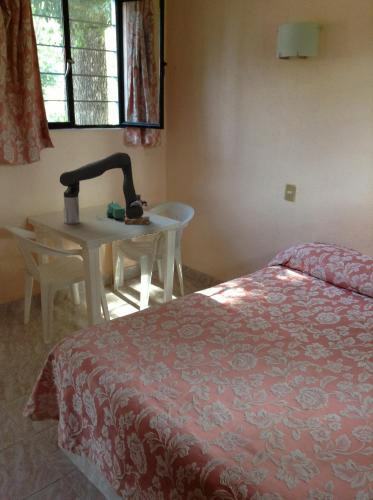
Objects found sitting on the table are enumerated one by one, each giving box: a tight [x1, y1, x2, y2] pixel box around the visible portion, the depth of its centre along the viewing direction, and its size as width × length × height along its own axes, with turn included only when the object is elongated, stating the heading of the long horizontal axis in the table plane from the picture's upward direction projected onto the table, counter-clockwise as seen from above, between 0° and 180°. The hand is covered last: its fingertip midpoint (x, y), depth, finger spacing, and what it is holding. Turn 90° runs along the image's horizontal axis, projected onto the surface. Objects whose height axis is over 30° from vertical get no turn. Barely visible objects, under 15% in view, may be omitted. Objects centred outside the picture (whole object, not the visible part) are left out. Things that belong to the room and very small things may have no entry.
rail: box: [124, 215, 151, 225], centre depth 289 cm, size 16×10×3 cm, turn 93°
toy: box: [106, 200, 126, 219], centre depth 304 cm, size 12×10×30 cm
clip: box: [136, 193, 142, 201], centre depth 285 cm, size 4×4×12 cm
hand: (137, 201), depth 287 cm, fingers closed on clip, 4 cm apart
